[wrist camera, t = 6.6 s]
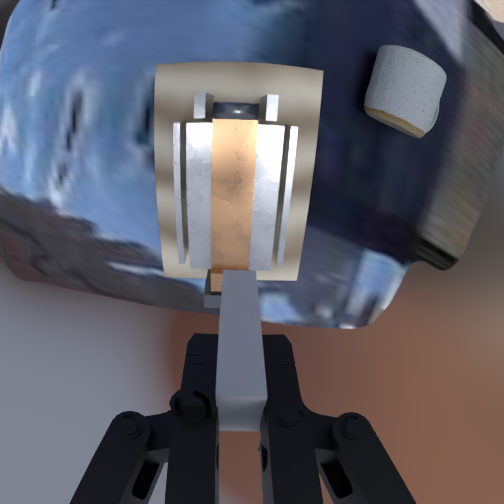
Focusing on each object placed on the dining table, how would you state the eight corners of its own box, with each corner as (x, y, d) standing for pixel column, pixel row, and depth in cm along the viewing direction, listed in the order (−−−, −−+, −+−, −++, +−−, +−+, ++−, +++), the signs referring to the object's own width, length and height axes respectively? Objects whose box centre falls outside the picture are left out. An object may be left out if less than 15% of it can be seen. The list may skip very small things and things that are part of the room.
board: (161, 67, 23) (155, 64, 21) (317, 72, 24) (323, 70, 22) (168, 267, 34) (164, 276, 33) (293, 271, 36) (296, 280, 34)
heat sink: (181, 96, 23) (163, 93, 17) (293, 100, 23) (309, 98, 18) (185, 272, 33) (176, 309, 27) (275, 275, 33) (282, 312, 28)
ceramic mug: (349, 111, 26) (383, 116, 19) (367, 48, 22) (404, 37, 15) (420, 144, 28) (461, 160, 21) (436, 88, 24) (478, 93, 17)
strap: (214, 102, 20) (212, 101, 18) (258, 103, 20) (260, 102, 18) (212, 278, 28) (211, 291, 26) (247, 279, 28) (248, 292, 26)
